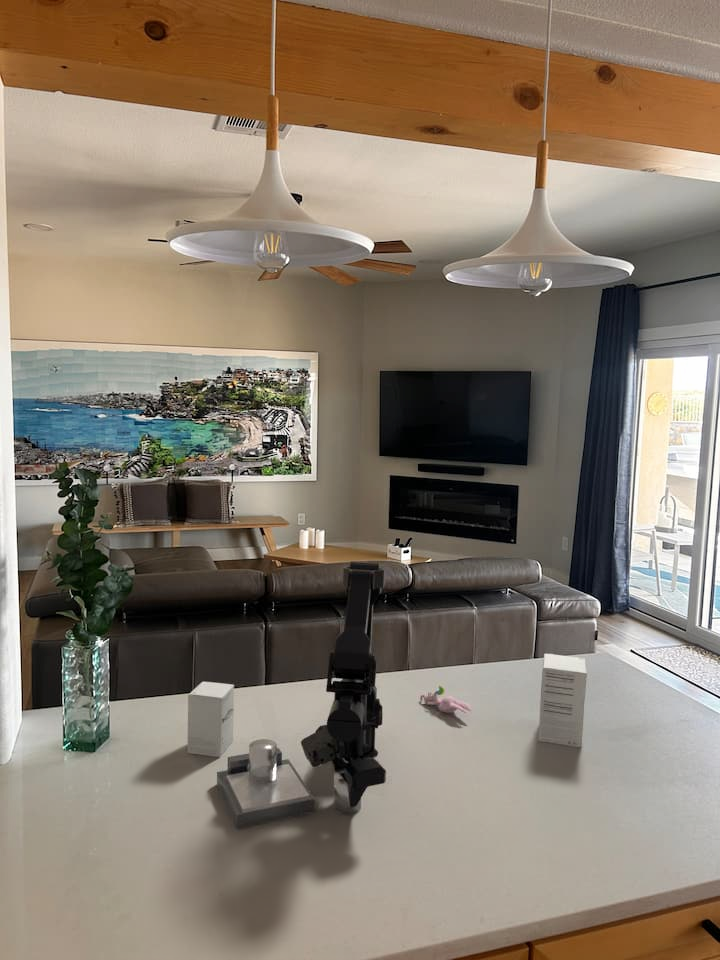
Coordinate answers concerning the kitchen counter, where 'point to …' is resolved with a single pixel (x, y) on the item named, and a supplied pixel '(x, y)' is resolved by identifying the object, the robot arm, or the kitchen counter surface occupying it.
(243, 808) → the dial scale
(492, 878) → the kitchen counter surface
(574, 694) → the supplement box
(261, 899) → the kitchen counter surface
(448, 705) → the rabbit figure
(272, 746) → the cylinder
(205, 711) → the supplement box
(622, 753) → the kitchen counter surface
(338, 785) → the cylinder
